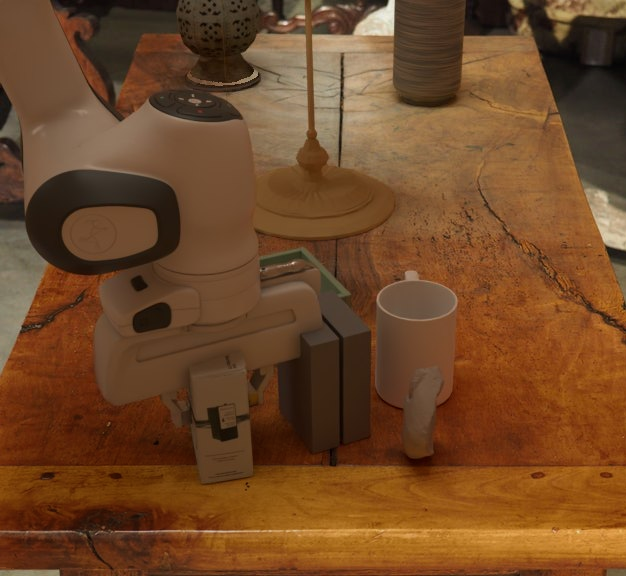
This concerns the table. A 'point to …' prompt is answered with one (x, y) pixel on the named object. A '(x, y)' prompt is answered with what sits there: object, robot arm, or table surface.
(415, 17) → the vase
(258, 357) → the robot arm
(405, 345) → the mug
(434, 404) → the fossil
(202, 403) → the ink box
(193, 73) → the lantern
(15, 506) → the table surface
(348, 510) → the table surface
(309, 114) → the desk lamp
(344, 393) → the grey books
